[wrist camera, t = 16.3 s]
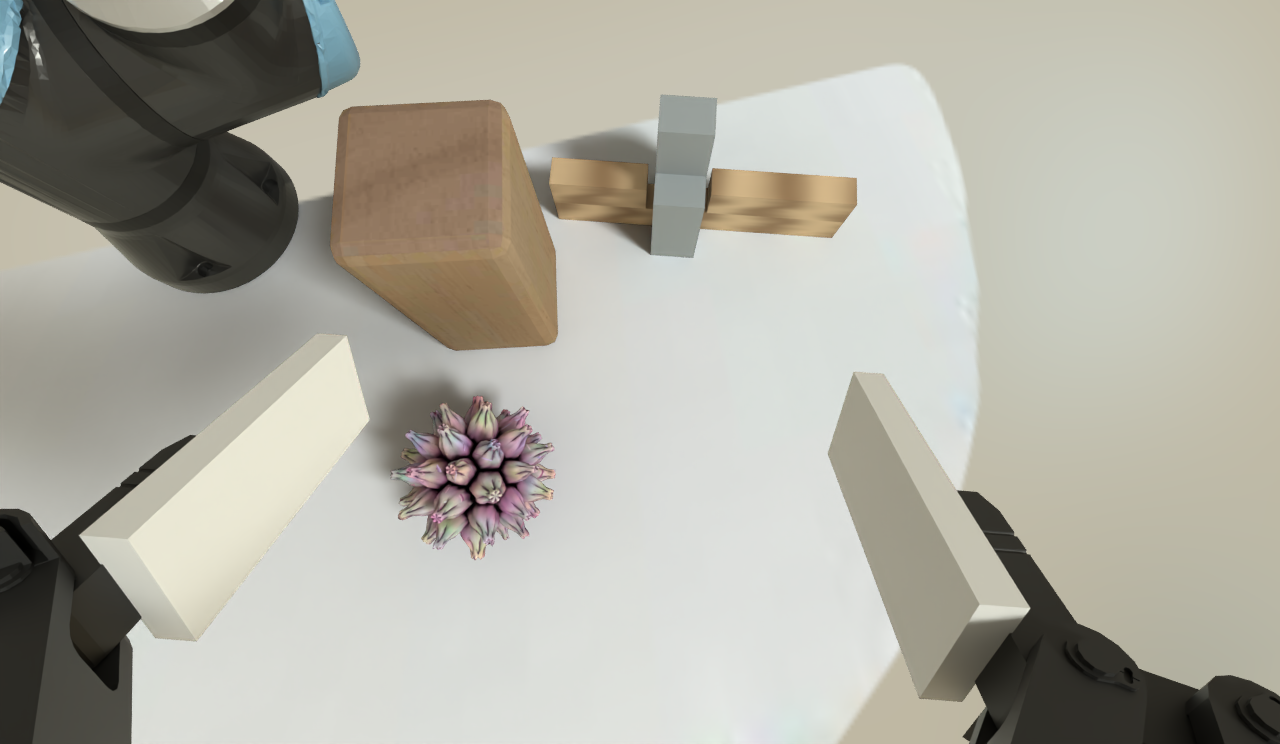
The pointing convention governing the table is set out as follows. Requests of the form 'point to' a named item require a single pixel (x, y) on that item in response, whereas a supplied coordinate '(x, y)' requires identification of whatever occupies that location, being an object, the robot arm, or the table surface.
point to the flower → (474, 476)
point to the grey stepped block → (681, 172)
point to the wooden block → (445, 222)
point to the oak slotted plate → (706, 198)
